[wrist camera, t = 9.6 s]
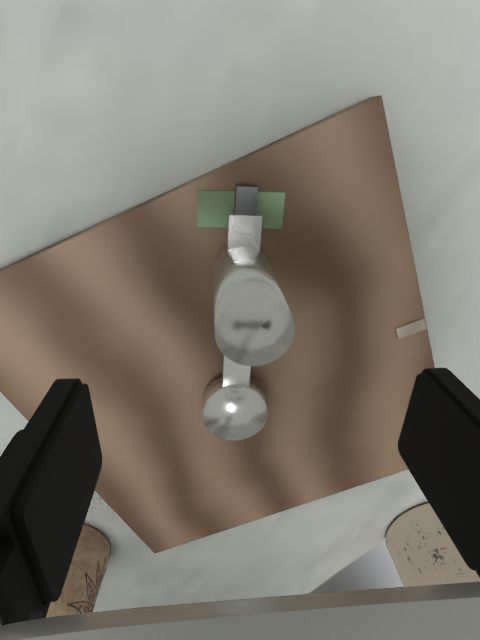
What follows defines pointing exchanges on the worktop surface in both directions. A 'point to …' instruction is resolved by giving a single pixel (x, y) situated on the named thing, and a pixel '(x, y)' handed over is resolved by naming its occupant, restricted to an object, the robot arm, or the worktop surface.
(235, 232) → the dial lever
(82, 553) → the tan brown ceramic jug
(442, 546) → the teacup with lid
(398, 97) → the worktop surface
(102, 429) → the wooden cutting board
